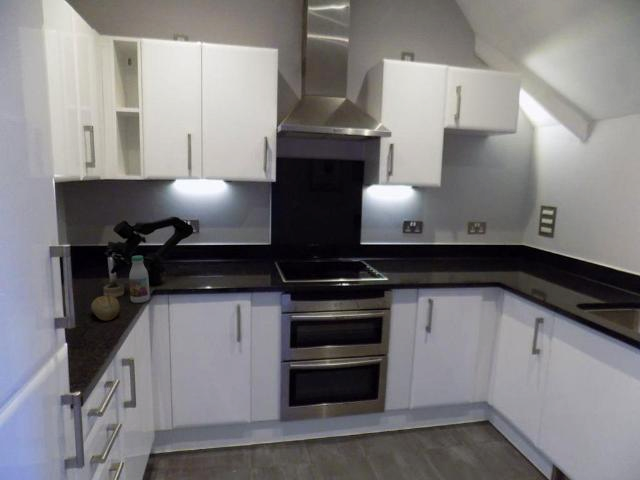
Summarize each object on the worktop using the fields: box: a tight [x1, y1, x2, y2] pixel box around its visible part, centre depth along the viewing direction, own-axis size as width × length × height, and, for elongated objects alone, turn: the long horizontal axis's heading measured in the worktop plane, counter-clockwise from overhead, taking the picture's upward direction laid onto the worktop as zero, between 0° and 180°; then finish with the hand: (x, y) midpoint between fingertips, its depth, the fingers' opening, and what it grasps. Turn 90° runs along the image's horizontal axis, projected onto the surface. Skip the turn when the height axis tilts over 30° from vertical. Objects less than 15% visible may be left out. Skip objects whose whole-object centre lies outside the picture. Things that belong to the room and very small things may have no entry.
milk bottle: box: [128, 255, 151, 304], centre depth 177 cm, size 8×8×20 cm
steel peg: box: [107, 256, 118, 288], centre depth 184 cm, size 3×3×14 cm
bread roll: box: [90, 295, 120, 322], centre depth 160 cm, size 10×15×8 cm, turn 42°
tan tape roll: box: [102, 283, 125, 298], centre depth 185 cm, size 8×8×4 cm
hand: (109, 272), depth 182 cm, fingers closed on steel peg, 3 cm apart
